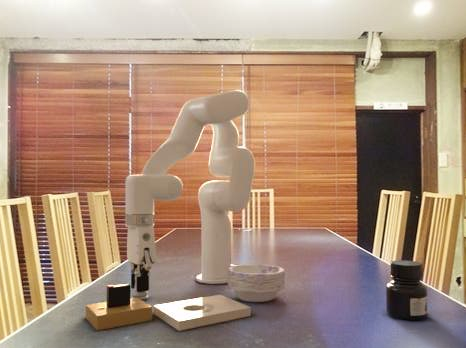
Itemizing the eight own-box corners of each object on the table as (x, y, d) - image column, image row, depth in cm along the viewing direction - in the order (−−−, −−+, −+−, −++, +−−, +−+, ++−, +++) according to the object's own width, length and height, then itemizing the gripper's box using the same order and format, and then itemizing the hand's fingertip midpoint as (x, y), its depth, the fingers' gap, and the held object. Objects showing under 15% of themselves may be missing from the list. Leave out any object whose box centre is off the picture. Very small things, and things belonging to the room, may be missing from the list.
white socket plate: (220, 302, 110) (220, 294, 110) (250, 315, 99) (250, 307, 99) (153, 314, 101) (153, 305, 101) (178, 331, 89) (178, 321, 89)
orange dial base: (136, 309, 104) (136, 296, 104) (151, 320, 96) (151, 306, 96) (85, 318, 98) (85, 304, 98) (97, 330, 89) (97, 315, 90)
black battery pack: (128, 303, 99) (128, 282, 99) (130, 304, 98) (130, 283, 98) (106, 306, 96) (106, 285, 96) (108, 308, 95) (108, 286, 95)
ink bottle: (423, 324, 92) (422, 268, 92) (381, 317, 97) (381, 264, 97) (430, 312, 100) (430, 261, 101) (392, 307, 105) (391, 258, 105)
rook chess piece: (144, 301, 111) (144, 270, 112) (128, 300, 112) (128, 270, 113) (151, 297, 116) (151, 267, 116) (135, 296, 117) (135, 266, 117)
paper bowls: (290, 293, 119) (290, 264, 119) (276, 308, 105) (276, 275, 105) (239, 289, 124) (239, 261, 124) (219, 303, 110) (218, 272, 110)
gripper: (165, 222, 110) (165, 294, 109) (142, 218, 124) (142, 282, 123) (136, 223, 106) (136, 298, 105) (116, 219, 119) (116, 285, 119)
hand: (139, 288), depth 114 cm, fingers closed on rook chess piece, 3 cm apart
